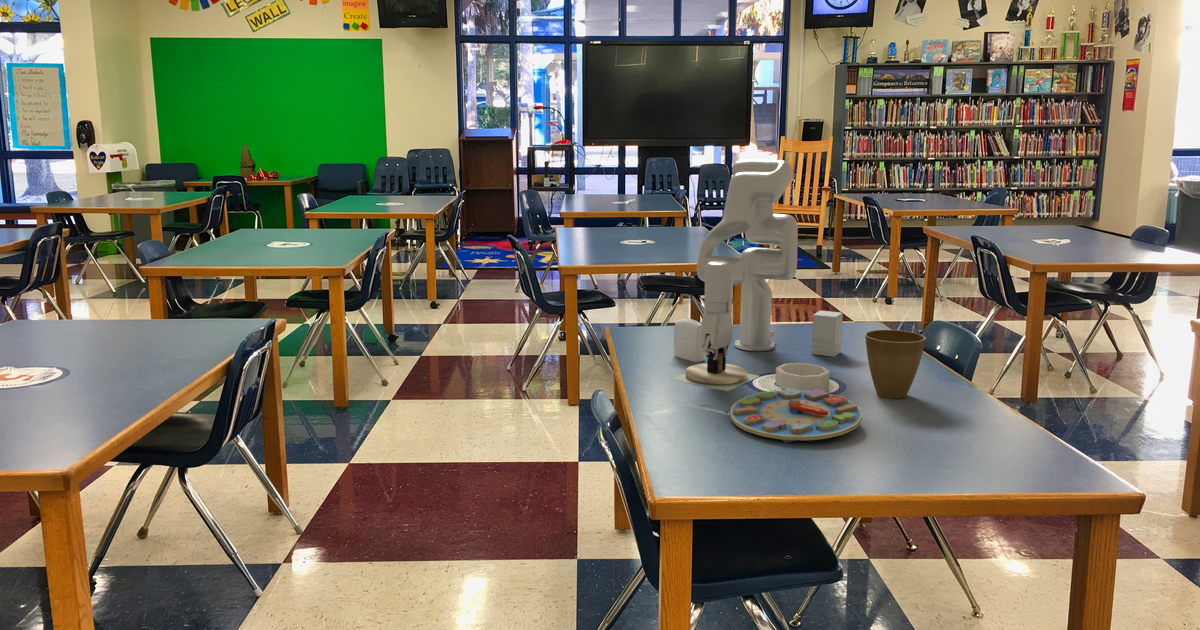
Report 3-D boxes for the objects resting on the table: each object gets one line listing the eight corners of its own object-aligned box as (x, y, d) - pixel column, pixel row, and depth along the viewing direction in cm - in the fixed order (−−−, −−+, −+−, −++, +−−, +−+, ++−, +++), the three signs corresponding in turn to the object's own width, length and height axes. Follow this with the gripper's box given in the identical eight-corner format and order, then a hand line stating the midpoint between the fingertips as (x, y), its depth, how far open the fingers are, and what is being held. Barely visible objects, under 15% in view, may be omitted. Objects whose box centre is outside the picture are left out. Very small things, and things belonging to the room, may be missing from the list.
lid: (705, 362, 256) (706, 342, 255) (758, 373, 246) (759, 352, 244) (673, 376, 243) (673, 355, 242) (727, 388, 233) (728, 366, 231)
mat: (704, 366, 257) (704, 364, 256) (760, 377, 246) (760, 375, 246) (670, 380, 243) (670, 378, 243) (727, 393, 232) (727, 391, 232)
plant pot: (929, 393, 232) (935, 335, 228) (906, 407, 221) (911, 345, 218) (876, 382, 242) (880, 326, 238) (851, 394, 231) (855, 335, 227)
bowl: (790, 377, 246) (791, 360, 245) (834, 386, 238) (835, 368, 237) (768, 388, 236) (769, 370, 235) (813, 398, 228) (815, 379, 227)
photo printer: (671, 357, 267) (672, 317, 264) (681, 355, 270) (682, 315, 267) (696, 364, 259) (697, 323, 257) (706, 362, 262) (707, 321, 259)
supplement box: (841, 352, 274) (843, 312, 271) (833, 357, 267) (836, 316, 265) (818, 348, 277) (820, 309, 275) (810, 354, 271) (812, 314, 269)
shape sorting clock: (706, 412, 218) (706, 389, 216) (808, 397, 230) (809, 375, 228) (777, 454, 190) (778, 428, 189) (889, 436, 202) (891, 411, 201)
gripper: (721, 299, 248) (719, 362, 253) (690, 310, 236) (688, 375, 240) (745, 303, 244) (742, 367, 248) (714, 313, 231) (712, 380, 236)
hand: (716, 370), depth 244 cm, fingers closed on lid, 3 cm apart
